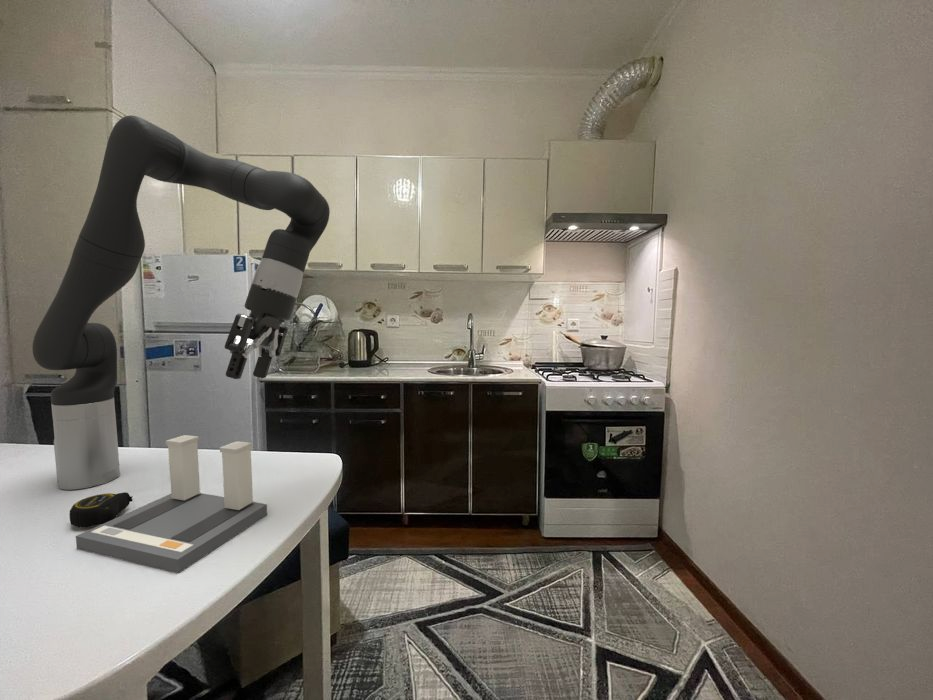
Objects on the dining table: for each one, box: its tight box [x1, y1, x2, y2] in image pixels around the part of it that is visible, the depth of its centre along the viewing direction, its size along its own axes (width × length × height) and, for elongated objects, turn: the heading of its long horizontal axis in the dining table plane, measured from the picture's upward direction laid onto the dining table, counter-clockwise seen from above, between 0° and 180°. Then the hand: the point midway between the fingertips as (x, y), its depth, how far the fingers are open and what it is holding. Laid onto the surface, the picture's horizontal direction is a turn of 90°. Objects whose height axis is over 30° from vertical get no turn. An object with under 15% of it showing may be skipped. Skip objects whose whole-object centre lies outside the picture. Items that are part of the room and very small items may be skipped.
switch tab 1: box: [165, 434, 201, 500], centre depth 70 cm, size 3×3×11 cm
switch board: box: [75, 492, 268, 574], centre depth 63 cm, size 20×16×2 cm
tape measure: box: [69, 491, 134, 529], centre depth 66 cm, size 7×7×4 cm
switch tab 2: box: [219, 440, 254, 510], centre depth 66 cm, size 3×3×11 cm
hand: (246, 377), depth 67 cm, fingers open, 8 cm apart
